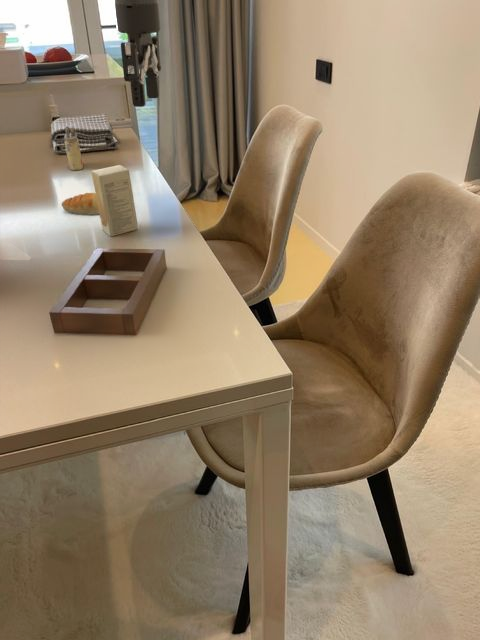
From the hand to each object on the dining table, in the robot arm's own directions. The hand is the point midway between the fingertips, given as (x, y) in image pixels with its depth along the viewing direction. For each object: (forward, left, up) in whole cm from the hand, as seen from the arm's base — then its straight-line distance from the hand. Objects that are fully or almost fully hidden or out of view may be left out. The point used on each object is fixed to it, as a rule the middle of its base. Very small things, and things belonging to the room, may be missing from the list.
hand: (146, 102), depth 105 cm
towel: (-35, +58, -23) cm, 72 cm away
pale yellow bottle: (-31, +37, -23) cm, 54 cm away
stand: (+1, -38, -23) cm, 44 cm away
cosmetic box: (-7, -7, -23) cm, 25 cm away
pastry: (-17, +4, -23) cm, 29 cm away
